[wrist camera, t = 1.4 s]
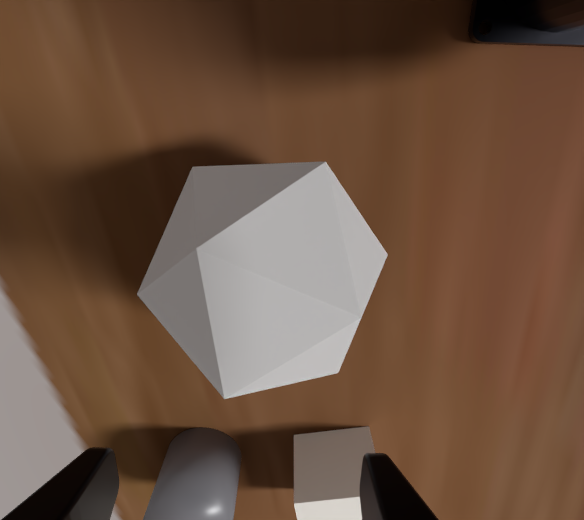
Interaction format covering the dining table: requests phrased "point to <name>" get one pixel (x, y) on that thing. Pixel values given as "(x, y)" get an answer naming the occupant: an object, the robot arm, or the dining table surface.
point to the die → (263, 274)
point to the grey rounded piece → (197, 478)
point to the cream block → (330, 473)
